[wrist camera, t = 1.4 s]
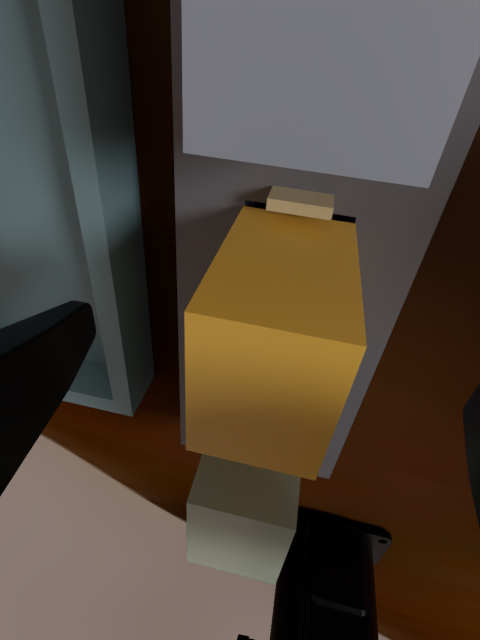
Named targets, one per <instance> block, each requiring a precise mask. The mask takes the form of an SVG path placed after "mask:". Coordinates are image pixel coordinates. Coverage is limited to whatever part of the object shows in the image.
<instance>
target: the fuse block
mask: <svg viewBox="0 0 480 640" xmlns="http://www.w3.org/2000/svg"><path fill="white" fill-rule="evenodd" d="M170 15H171V56H172V97H173V138H174V179H175V220H176V261H177V302H178V343H179V383H180V424H181V444H183V445H186V411H185V321H184V311H185V310H186V308H187V306H188V304H189V302H190V301H191V299H192V297H193V295H194V293H195V292H196V290H197V288H198V286H199V285H200V283H201V281H202V279H203V277H204V276H205V274H206V272H207V270H208V268H209V267H210V265H211V263H212V261H213V260H214V258H215V256H216V254H217V252H218V251H219V249H220V247H221V245H222V243H223V242H224V240H225V238H226V236H227V234H228V233H229V231H230V229H231V227H232V226H233V224H234V222H235V220H236V218H237V217H238V215H239V213H240V211H241V209H242V208H243V206H247V207H254V205H255V202H261V203H267V205H266V210H267V211H274V212H280V213H286V214H293V215H299V216H305V217H312V218H318V219H324V220H331V218H332V214H338V215H344V216H348V217H347V221H346V222H349V223H355V224H356V233H357V244H358V255H359V266H360V277H361V288H362V299H363V310H364V321H365V332H366V343H367V348H366V351H365V353H364V356H363V358H362V361H361V364H360V366H359V369H358V371H357V374H356V376H355V379H354V382H353V384H352V387H351V389H350V392H349V395H348V397H347V400H346V402H345V405H344V408H343V410H342V413H341V415H340V418H339V421H338V423H337V426H336V428H335V431H334V433H333V436H332V439H331V441H330V444H329V446H328V449H327V452H326V454H325V457H324V459H323V462H322V465H321V467H320V470H319V472H318V475H317V476H319V477H323V478H328V479H329V478H330V475H331V473H332V471H333V468H334V466H335V464H336V461H337V459H338V457H339V454H340V452H341V450H342V447H343V445H344V443H345V440H346V438H347V435H348V433H349V431H350V428H351V426H352V424H353V421H354V419H355V417H356V414H357V412H358V410H359V407H360V405H361V403H362V400H363V398H364V396H365V393H366V391H367V388H368V386H369V384H370V381H371V379H372V377H373V374H374V372H375V370H376V367H377V365H378V363H379V360H380V358H381V356H382V353H383V351H384V349H385V346H386V344H387V342H388V339H389V337H390V334H391V332H392V330H393V327H394V325H395V323H396V320H397V318H398V316H399V313H400V311H401V309H402V306H403V304H404V302H405V299H406V297H407V295H408V292H409V290H410V287H411V285H412V283H413V280H414V278H415V276H416V273H417V271H418V269H419V266H420V264H421V262H422V259H423V257H424V255H425V252H426V250H427V248H428V245H429V243H430V240H431V238H432V236H433V233H434V231H435V229H436V226H437V224H438V222H439V219H440V217H441V215H442V212H443V210H444V208H445V205H446V203H447V201H448V198H449V196H450V193H451V191H452V189H453V186H454V184H455V182H456V179H457V177H458V175H459V172H460V170H461V168H462V165H463V163H464V161H465V158H466V156H467V154H468V151H469V149H470V146H471V144H472V142H473V139H474V137H475V135H476V132H477V130H478V128H479V125H480V56H479V59H478V61H477V64H476V67H475V69H474V72H473V74H472V77H471V80H470V82H469V85H468V87H467V90H466V93H465V95H464V98H463V100H462V103H461V105H460V108H459V111H458V113H457V116H456V118H455V121H454V124H453V126H452V129H451V131H450V134H449V137H448V139H447V142H446V144H445V147H444V149H443V152H442V155H441V157H440V160H439V162H438V165H437V168H436V170H435V173H434V175H433V178H432V180H431V183H430V186H429V188H423V187H416V186H409V185H402V184H395V183H388V182H381V181H374V180H367V179H361V178H354V177H347V176H340V175H333V174H326V173H319V172H312V171H305V170H298V169H291V168H284V167H277V166H271V165H264V164H257V163H250V162H243V161H236V160H229V159H222V158H215V157H208V156H201V155H194V154H187V153H183V101H182V5H181V0H170Z"/></svg>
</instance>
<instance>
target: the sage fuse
mask: <svg viewBox="0 0 480 640" xmlns="http://www.w3.org/2000/svg"><path fill="white" fill-rule="evenodd" d="M300 479H301V477H298V476H294V475H290V474H286V473H281V472H277V471H273V470H269V469H265V468H260V467H256V466H252V465H248V464H243V463H239V462H235V461H231V460H227V459H222V458H218V457H214V456H210V455H205V454H202V457H201V460H200V463H199V466H198V469H197V472H196V475H195V478H194V481H193V485H192V488H191V491H190V494H189V497H188V500H187V561H188V562H192V563H196V564H199V565H203V566H207V567H210V568H214V569H218V570H222V571H225V572H229V573H232V574H237V575H240V576H244V577H247V578H251V579H255V580H258V581H262V582H266V583H269V584H273V585H275V584H276V581H277V579H278V576H279V574H280V571H281V568H282V566H283V563H284V561H285V558H286V555H287V553H288V550H289V548H290V545H291V542H292V540H293V537H294V535H295V532H296V526H297V514H298V502H299V491H300Z"/></svg>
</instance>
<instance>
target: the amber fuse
mask: <svg viewBox="0 0 480 640" xmlns="http://www.w3.org/2000/svg"><path fill="white" fill-rule="evenodd" d="M184 321H185V411H186V450H188V451H193V452H197V453H201V454H205V455H210V456H214V457H218V458H222V459H227V460H231V461H235V462H239V463H243V464H248V465H252V466H256V467H260V468H265V469H269V470H273V471H277V472H281V473H286V474H290V475H294V476H298V477H303V478H307V479H311V480H316V478H317V475H318V472H319V470H320V467H321V465H322V462H323V459H324V457H325V454H326V452H327V449H328V446H329V444H330V441H331V439H332V436H333V433H334V431H335V428H336V426H337V423H338V421H339V418H340V415H341V413H342V410H343V408H344V405H345V402H346V400H347V397H348V395H349V392H350V389H351V387H352V384H353V382H354V379H355V376H356V374H357V371H358V369H359V366H360V364H361V361H362V358H363V356H364V353H365V351H366V348H367V343H366V332H365V321H364V310H363V299H362V288H361V277H360V266H359V255H358V244H357V233H356V224H355V223H349V222H342V221H336V220H333V214H332V218H331V220H324V219H318V218H312V217H305V216H299V215H293V214H286V213H280V212H274V211H267V210H266V209H260V208H254V207H247V206H243V208H242V209H241V211H240V213H239V215H238V217H237V218H236V220H235V222H234V224H233V226H232V227H231V229H230V231H229V233H228V234H227V236H226V238H225V240H224V242H223V243H222V245H221V247H220V249H219V251H218V252H217V254H216V256H215V258H214V260H213V261H212V263H211V265H210V267H209V268H208V270H207V272H206V274H205V276H204V277H203V279H202V281H201V283H200V285H199V286H198V288H197V290H196V292H195V293H194V295H193V297H192V299H191V301H190V302H189V304H188V306H187V308H186V310H185V311H184Z"/></svg>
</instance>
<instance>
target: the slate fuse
mask: <svg viewBox="0 0 480 640" xmlns="http://www.w3.org/2000/svg"><path fill="white" fill-rule="evenodd" d="M181 5H182V101H183V153H187V154H194V155H201V156H208V157H215V158H222V159H229V160H236V161H243V162H250V163H257V164H264V165H271V166H277V167H284V168H291V169H298V170H305V171H312V172H319V173H326V174H333V175H340V176H347V177H354V178H361V179H367V180H374V181H381V182H388V183H395V184H402V185H409V186H416V187H423V188H429V186H430V183H431V180H432V178H433V175H434V173H435V170H436V168H437V165H438V162H439V160H440V157H441V155H442V152H443V149H444V147H445V144H446V142H447V139H448V137H449V134H450V131H451V129H452V126H453V124H454V121H455V118H456V116H457V113H458V111H459V108H460V105H461V103H462V100H463V98H464V95H465V93H466V90H467V87H468V85H469V82H470V80H471V77H472V74H473V72H474V69H475V67H476V64H477V61H478V59H479V56H480V0H181Z"/></svg>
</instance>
